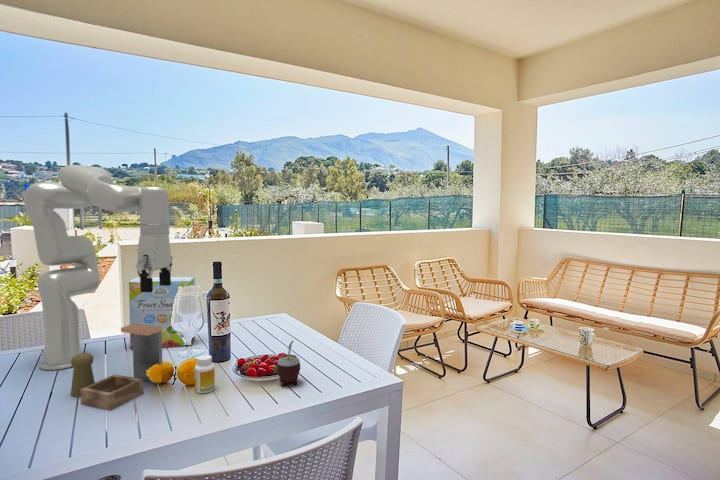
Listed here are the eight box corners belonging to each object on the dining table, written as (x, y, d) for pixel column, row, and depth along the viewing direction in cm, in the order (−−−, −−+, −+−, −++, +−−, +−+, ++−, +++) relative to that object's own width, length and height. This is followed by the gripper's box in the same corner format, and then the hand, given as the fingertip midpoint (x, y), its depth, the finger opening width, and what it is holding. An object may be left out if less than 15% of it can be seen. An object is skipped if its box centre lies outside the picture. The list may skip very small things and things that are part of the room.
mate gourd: (286, 376, 127) (286, 330, 126) (306, 381, 124) (307, 333, 123) (271, 385, 120) (270, 336, 119) (292, 391, 117) (292, 341, 116)
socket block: (80, 403, 108) (80, 389, 107) (115, 387, 117) (114, 374, 117) (110, 410, 104) (109, 395, 104) (143, 393, 114) (142, 379, 114)
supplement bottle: (218, 387, 119) (218, 355, 118) (206, 395, 114) (205, 361, 113) (203, 384, 121) (203, 352, 120) (190, 392, 115) (190, 359, 115)
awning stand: (122, 384, 120) (120, 327, 118) (137, 377, 124) (135, 323, 123) (149, 389, 117) (147, 331, 115) (162, 382, 121) (161, 326, 120)
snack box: (129, 350, 147) (126, 281, 145) (136, 342, 156) (134, 277, 154) (192, 346, 152) (191, 279, 150) (196, 339, 161) (195, 275, 159)
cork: (83, 398, 111) (81, 359, 110) (64, 395, 112) (63, 357, 111) (101, 388, 117) (100, 351, 116) (83, 386, 118) (82, 349, 117)
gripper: (158, 228, 125) (159, 282, 126) (123, 231, 108) (125, 294, 109) (182, 228, 124) (183, 283, 126) (150, 232, 107) (152, 295, 109)
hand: (156, 288), depth 117 cm, fingers open, 9 cm apart
